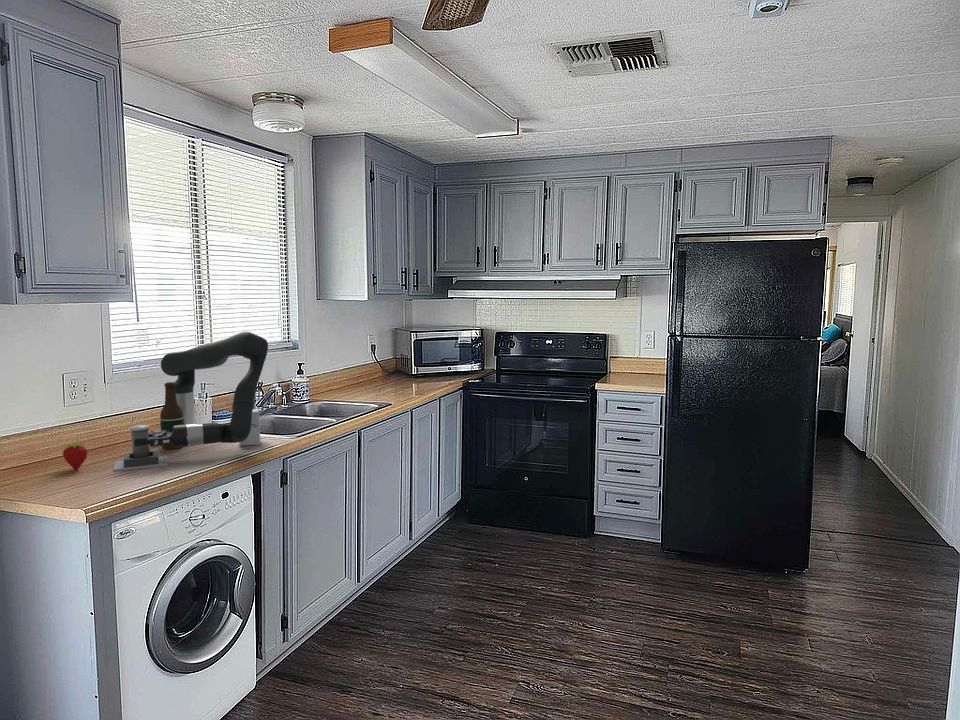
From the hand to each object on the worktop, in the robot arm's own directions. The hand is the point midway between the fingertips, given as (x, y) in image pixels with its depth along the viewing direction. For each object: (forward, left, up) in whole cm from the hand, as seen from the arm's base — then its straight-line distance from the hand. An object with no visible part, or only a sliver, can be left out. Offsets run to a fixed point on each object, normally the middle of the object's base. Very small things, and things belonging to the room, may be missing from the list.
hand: (134, 440), depth 223 cm
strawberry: (-2, -17, -8) cm, 19 cm away
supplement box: (-15, +38, -8) cm, 42 cm away
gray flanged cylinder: (0, +2, -8) cm, 8 cm away
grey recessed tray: (0, +2, -8) cm, 8 cm away
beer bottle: (-22, +12, -8) cm, 27 cm away
